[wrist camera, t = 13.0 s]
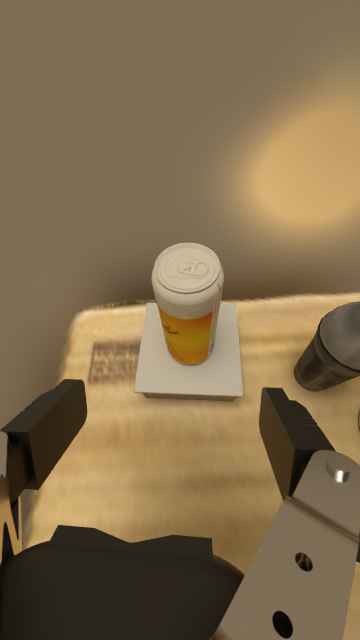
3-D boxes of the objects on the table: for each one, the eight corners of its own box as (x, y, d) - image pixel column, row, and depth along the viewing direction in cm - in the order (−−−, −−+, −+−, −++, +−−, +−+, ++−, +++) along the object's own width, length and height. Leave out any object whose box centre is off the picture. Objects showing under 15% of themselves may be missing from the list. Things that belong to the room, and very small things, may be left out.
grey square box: (231, 321, 40) (236, 304, 36) (236, 405, 33) (243, 395, 29) (152, 320, 41) (146, 303, 37) (141, 401, 34) (133, 391, 30)
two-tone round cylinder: (173, 321, 35) (160, 235, 22) (216, 328, 34) (229, 243, 21) (162, 362, 32) (139, 290, 19) (209, 371, 31) (219, 301, 18)
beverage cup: (275, 356, 36) (346, 258, 19) (322, 346, 37) (433, 242, 20) (296, 407, 33) (408, 341, 16) (349, 395, 33) (514, 319, 16)
